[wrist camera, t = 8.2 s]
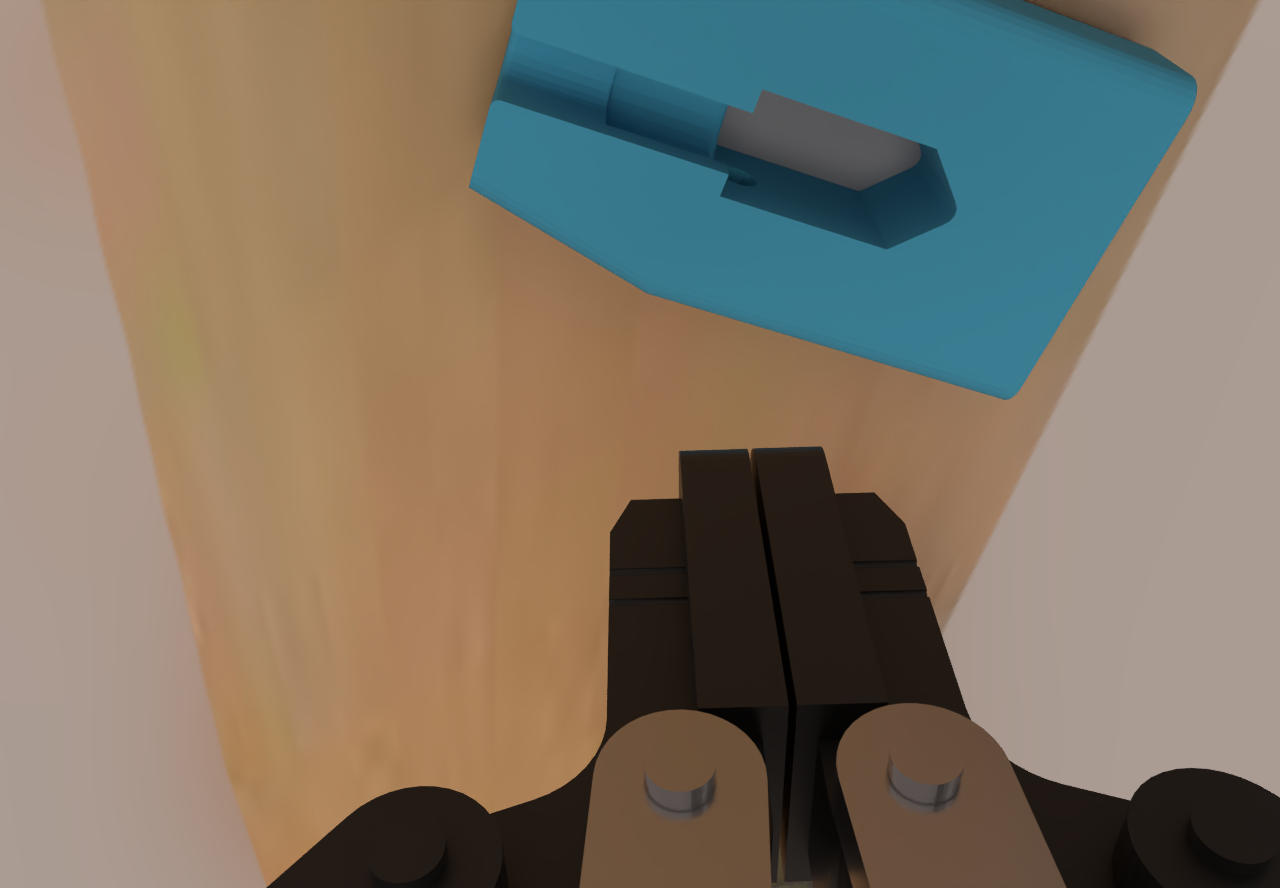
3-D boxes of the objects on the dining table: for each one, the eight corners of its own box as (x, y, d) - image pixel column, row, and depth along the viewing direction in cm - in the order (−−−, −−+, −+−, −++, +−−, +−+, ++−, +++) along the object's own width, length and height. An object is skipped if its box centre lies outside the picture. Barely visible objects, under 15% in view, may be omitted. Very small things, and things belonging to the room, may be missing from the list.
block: (470, 188, 40) (970, 341, 43) (453, 246, 36) (1007, 410, 39) (566, -176, 33) (1141, 41, 37) (558, -156, 29) (1207, 85, 33)
